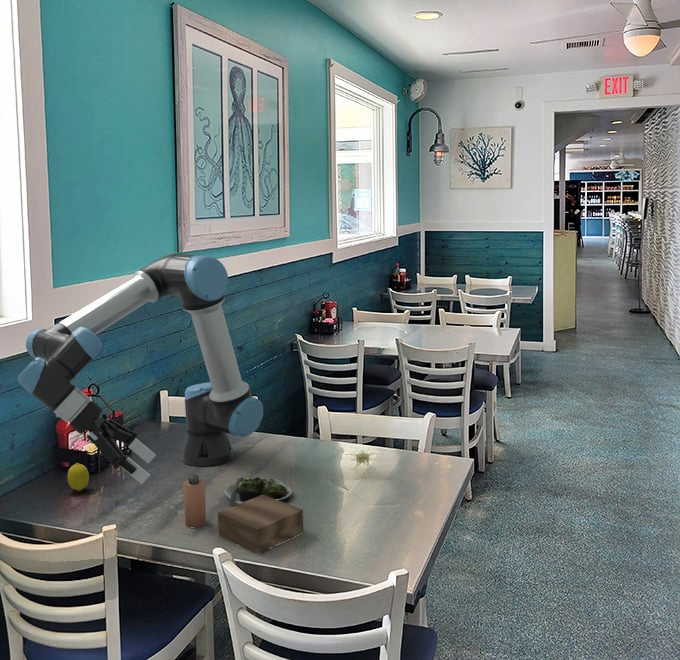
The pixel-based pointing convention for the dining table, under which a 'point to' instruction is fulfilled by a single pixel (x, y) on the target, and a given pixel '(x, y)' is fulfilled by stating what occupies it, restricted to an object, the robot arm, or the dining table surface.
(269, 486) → the salad plate
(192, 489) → the sauce bottle
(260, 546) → the walnut block
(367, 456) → the beige splat shape
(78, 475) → the lemon
